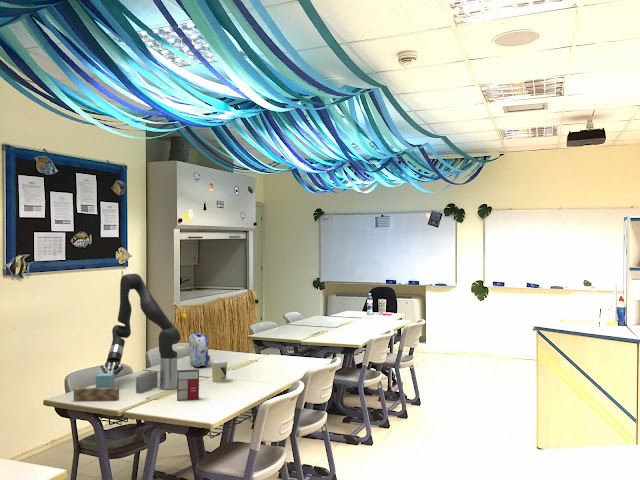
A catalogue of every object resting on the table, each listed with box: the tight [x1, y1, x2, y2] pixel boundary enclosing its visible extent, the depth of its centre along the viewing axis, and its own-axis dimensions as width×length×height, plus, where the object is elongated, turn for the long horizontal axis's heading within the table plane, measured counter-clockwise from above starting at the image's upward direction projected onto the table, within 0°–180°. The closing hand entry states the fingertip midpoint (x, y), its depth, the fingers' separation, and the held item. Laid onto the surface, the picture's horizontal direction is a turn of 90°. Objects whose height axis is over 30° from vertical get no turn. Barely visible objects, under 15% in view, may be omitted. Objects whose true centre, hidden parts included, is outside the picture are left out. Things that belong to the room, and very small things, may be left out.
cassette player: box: [135, 370, 159, 394], centre depth 304 cm, size 16×3×10 cm, turn 162°
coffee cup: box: [211, 359, 228, 383], centre depth 325 cm, size 9×9×12 cm
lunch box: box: [188, 332, 211, 368], centre depth 372 cm, size 28×10×22 cm, turn 25°
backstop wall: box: [73, 387, 120, 402], centre depth 292 cm, size 22×22×6 cm
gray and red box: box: [176, 368, 200, 401], centre depth 286 cm, size 11×4×15 cm, turn 105°
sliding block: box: [95, 372, 115, 388], centre depth 297 cm, size 8×6×9 cm
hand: (108, 380), depth 303 cm, fingers closed
